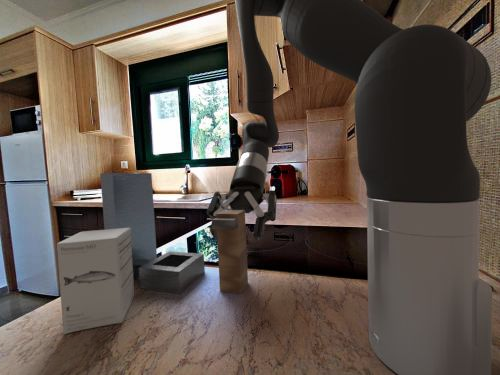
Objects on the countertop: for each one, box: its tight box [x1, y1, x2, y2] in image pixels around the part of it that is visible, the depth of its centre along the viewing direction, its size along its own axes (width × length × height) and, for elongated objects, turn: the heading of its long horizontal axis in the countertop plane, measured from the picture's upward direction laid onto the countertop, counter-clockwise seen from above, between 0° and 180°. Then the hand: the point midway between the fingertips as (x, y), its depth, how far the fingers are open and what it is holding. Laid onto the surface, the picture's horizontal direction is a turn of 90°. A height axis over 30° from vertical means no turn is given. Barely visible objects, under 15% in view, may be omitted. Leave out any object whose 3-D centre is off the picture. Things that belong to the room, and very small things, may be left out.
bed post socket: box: [99, 172, 206, 295], centre depth 44 cm, size 16×10×22 cm, turn 73°
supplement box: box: [56, 228, 135, 335], centre depth 33 cm, size 7×7×13 cm
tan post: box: [211, 209, 249, 295], centre depth 38 cm, size 4×6×14 cm
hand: (234, 236), depth 40 cm, fingers open, 8 cm apart
